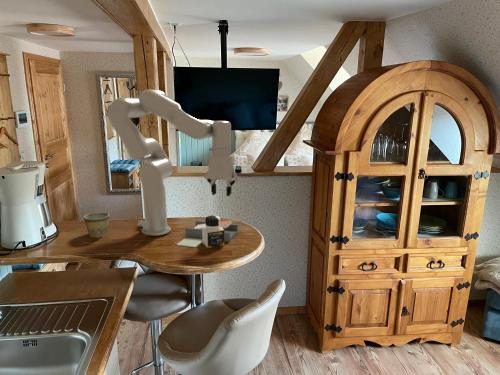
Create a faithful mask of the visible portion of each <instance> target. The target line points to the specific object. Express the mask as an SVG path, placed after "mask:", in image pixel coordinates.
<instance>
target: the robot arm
mask: <svg viewBox="0 0 500 375" xmlns="http://www.w3.org/2000/svg"><path fill="white" fill-rule="evenodd" d="M150 114H154V115H155V116H157V117H159V118H161V119H162V120H165V121H166V122H168V123H169V124H170V125H171V126H172V127H173V128H175V129H176V130H177V131H179V132H180V133H182V134H184V135H186V136H188V137H190V138H192V139H194V140H197V141H198V140H203V139H209V138H211V141H212V142H211V143H212V144H211V147H209V149H208V152H211V154H210V155H209V161H208V167H207V168H208V169H207V172H206V173H205V174H204V175H203V177H204V180H206V181H207V182H208V183H209V185H210V188H211V190H210V192H211V195H212V196H215V195H216V194H217V184H216V182H217V181H226V184H227V186H226V197H230V196H231V194H232V186H234V184H235V183H236V182H237V181H239V180H240V176H239V175H238V174H237V173H236V172H235V166H234V163H235V162H234V157H233V155H232V153H231V152H232V146H231V145H232V124H231V122H230V121H227V120H210V119H197V118H195V117H193V116H191V115H190V114H189V113H186V112H185V111H184V110H183V109H182V107H181V104H180V103H178V102H176V101H174V100H172V99H171V98H169V97H168V96H167V95H166V93H165V92H164V91H162V90H160V89H151V88H148V89H145V90H143V91H142V92H140V94H139V96H137V97H127V96H126V97H123V96H122V97H117V98H115V99H113V100H112V102H110V104H109V107H108V111H107V115H108V120H109V123H110V124H111V127H112V128H113V130H114V131H115V132H116V134H117V136H118V137H119V139H120V140H121V142H122V144H123V145H124V147H125V148H126V150H127V152H128V153H129V155H130V156H131V158H132V159H133V160H134V161H137V162H142V161H146V162H145V163H144V164H143V165H142V166H141V168H140V170H139V178H140V181H141V182H140V183H141V187H142V197H143V211H144V212H143V213H144V215H143V216H144V220H138V222H137V226H138V227H142V228H141V233H143V235H147V236H152V237H153V236H155V237H156V236H162V235H165V234H169V233H170V232H171V230H172V227H171V226H170V225H168V217H167V216H168V212H167V195H166V186H165V184H164V180H166V179H168V178H169V177H171V175H172V174H173V171H174V170H173V164H172V161H171V160H170V159H169V157H168V155H167V153H166V152H165V150H164V148H163V147H162V145H161V144H160V142H159V141H157V140H156V139H154V138H152V137H145V136H143V134H142V132H141V131H140V129H139V127H138V126H137V125H136V124H135V123H134V122H133V121H132V120H131V119H133V118H134V119H135V118H141V117H144V116H148V115H150Z"/></svg>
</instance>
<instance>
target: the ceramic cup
mask: <svg viewBox="0 0 500 375" xmlns="http://www.w3.org/2000/svg"><path fill="white" fill-rule="evenodd" d="M83 221H84V224H85V226H86V230H87V232H88V235H89V237H90V238H95V239H98V238H103V237H105V236H107V235H108V232H109V223H110V213H108V212H102V211H101V212H100V211H99V212H91V213H87V214H85V215H84V216H83Z"/></svg>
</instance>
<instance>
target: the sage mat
mask: <svg viewBox="0 0 500 375" xmlns="http://www.w3.org/2000/svg"><path fill="white" fill-rule="evenodd" d="M201 244H203V242H202V239H199V238H190V237H184V238H183V239H181V241H179V242H177V244H176V246H178V247H180V246H181V247H186V248H188V247H189V248H197V247H198V246H200V245H201Z"/></svg>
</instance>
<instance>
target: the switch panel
mask: <svg viewBox="0 0 500 375" xmlns="http://www.w3.org/2000/svg"><path fill="white" fill-rule="evenodd" d="M200 224H206V223H205V220H195V225H194V227H185V228H184V229H185V231H184V232H185V238H195V239H202V229H197V228H195V227H196V226H197V225H200ZM223 229H224V242H228V243H229V242H231V241H232V240H233V239H234V238H235V237H236V236H237V235H238V234H239V224H238V223H232V224H230V225H229V226H228V227H227V228H223ZM235 235H236V236H235Z"/></svg>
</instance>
